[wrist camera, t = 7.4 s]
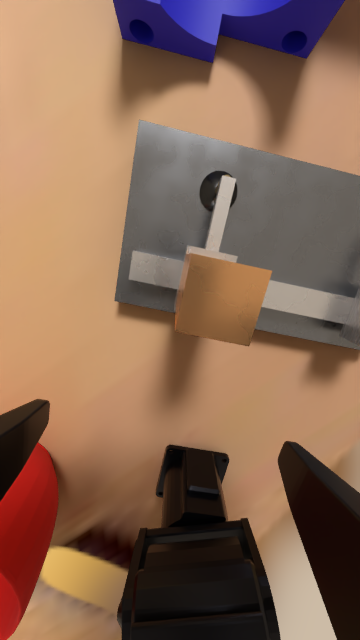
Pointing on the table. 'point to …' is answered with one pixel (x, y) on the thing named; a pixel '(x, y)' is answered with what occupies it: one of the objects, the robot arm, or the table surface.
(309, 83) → the table surface
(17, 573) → the ceramic cup
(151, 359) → the table surface
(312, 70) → the table surface
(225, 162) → the plate
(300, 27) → the cable clip
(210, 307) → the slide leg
